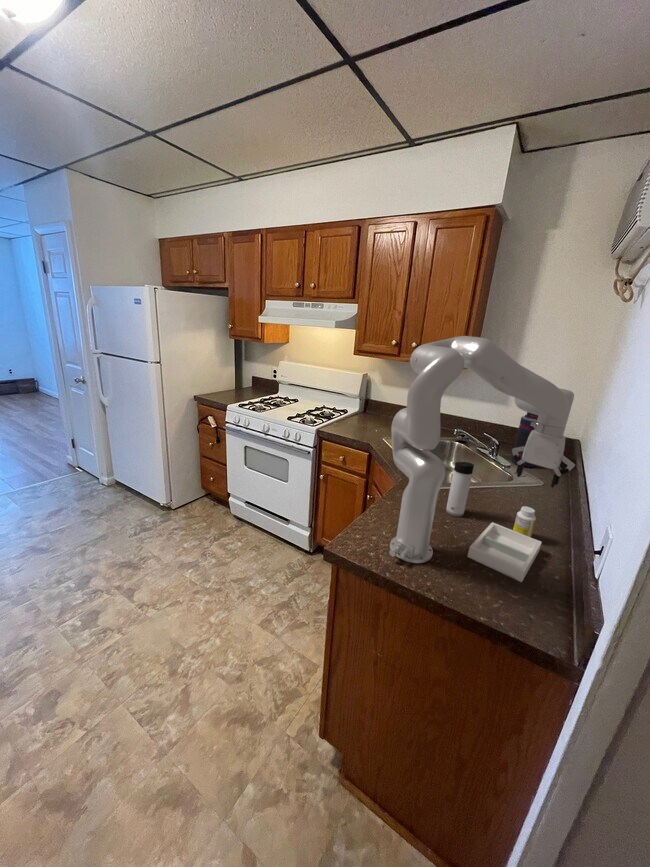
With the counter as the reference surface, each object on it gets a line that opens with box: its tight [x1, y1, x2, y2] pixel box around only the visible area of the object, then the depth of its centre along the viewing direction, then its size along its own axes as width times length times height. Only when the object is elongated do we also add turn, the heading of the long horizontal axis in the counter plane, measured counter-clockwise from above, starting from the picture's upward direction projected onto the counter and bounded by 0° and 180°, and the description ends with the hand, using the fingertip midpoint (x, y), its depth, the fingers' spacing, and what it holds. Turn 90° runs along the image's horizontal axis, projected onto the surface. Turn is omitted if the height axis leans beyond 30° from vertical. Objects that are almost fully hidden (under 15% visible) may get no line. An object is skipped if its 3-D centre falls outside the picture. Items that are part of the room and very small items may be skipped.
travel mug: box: [445, 461, 475, 517], centre depth 129 cm, size 6×7×20 cm
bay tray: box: [467, 521, 542, 583], centre depth 109 cm, size 20×15×4 cm
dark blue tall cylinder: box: [510, 412, 538, 468], centre depth 181 cm, size 14×12×30 cm
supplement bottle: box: [512, 505, 537, 538], centre depth 118 cm, size 6×6×10 cm
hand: (535, 480), depth 114 cm, fingers open, 9 cm apart
